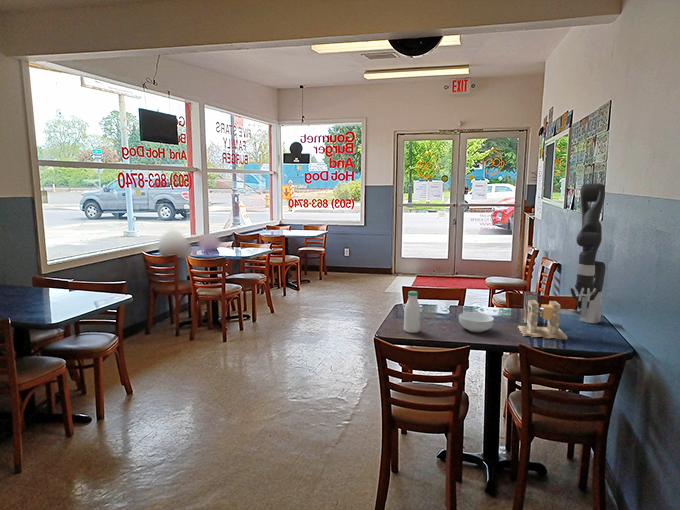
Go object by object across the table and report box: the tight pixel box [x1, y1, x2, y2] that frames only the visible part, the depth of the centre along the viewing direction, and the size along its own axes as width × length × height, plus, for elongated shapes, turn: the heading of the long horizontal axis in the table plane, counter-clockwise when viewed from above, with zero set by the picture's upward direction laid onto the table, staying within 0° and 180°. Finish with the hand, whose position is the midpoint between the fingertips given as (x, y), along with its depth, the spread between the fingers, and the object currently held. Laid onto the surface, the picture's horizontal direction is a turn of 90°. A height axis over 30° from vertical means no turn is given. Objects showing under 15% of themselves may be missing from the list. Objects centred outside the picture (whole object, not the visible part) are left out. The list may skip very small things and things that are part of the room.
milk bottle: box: [403, 290, 421, 334], centre depth 243 cm, size 8×8×20 cm
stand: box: [517, 300, 568, 341], centre depth 242 cm, size 20×14×16 cm
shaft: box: [538, 295, 588, 318], centre depth 240 cm, size 23×4×10 cm, turn 82°
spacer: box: [539, 303, 553, 321], centre depth 241 cm, size 4×6×6 cm, turn 172°
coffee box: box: [522, 291, 541, 324], centre depth 262 cm, size 9×6×16 cm
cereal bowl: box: [458, 311, 495, 333], centre depth 247 cm, size 17×17×7 cm
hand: (582, 308), depth 239 cm, fingers closed on shaft, 2 cm apart
